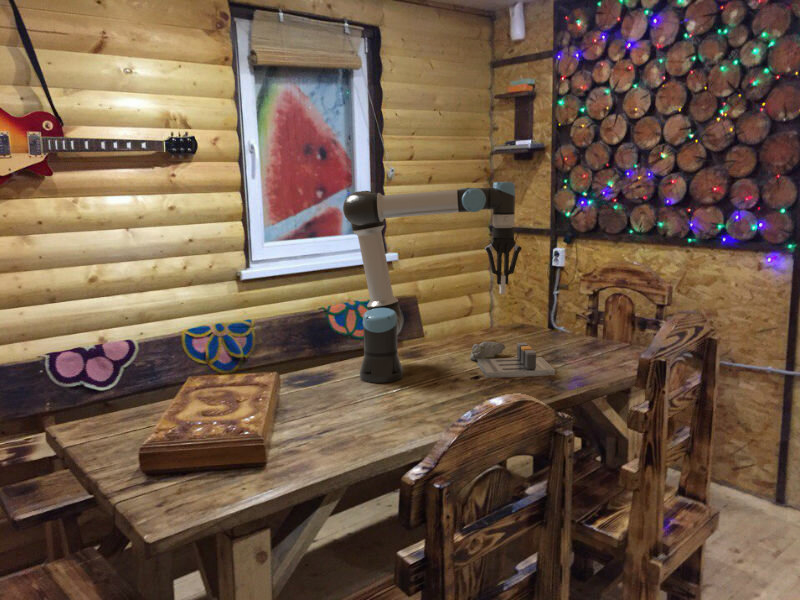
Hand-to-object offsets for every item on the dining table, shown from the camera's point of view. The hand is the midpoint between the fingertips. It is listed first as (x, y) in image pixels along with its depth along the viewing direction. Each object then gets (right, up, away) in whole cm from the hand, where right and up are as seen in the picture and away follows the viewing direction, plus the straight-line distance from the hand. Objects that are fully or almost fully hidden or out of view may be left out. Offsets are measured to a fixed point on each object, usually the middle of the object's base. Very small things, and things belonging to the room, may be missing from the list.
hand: (502, 293), depth 231 cm
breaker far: (+9, -24, +8) cm, 27 cm away
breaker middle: (+9, -25, +2) cm, 27 cm away
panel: (+5, -27, +2) cm, 28 cm away
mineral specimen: (-4, -25, +19) cm, 31 cm away
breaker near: (+9, -26, -3) cm, 28 cm away
